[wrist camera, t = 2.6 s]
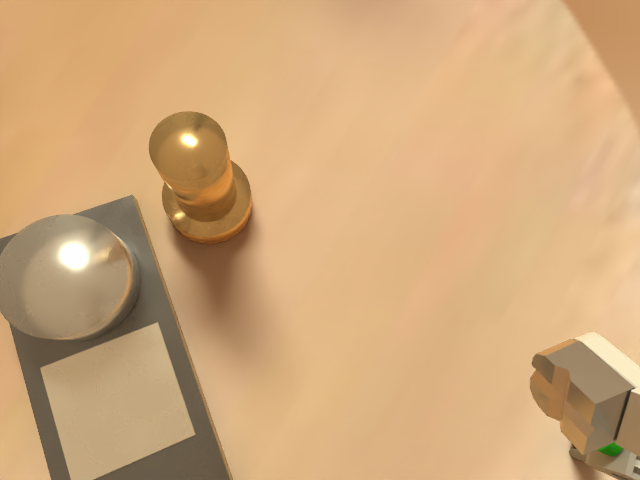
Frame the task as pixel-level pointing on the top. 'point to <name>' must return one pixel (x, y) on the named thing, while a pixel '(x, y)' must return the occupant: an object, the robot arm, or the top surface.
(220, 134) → the gold pawn piece
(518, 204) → the top surface
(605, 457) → the mechanical component
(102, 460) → the carrier plate
